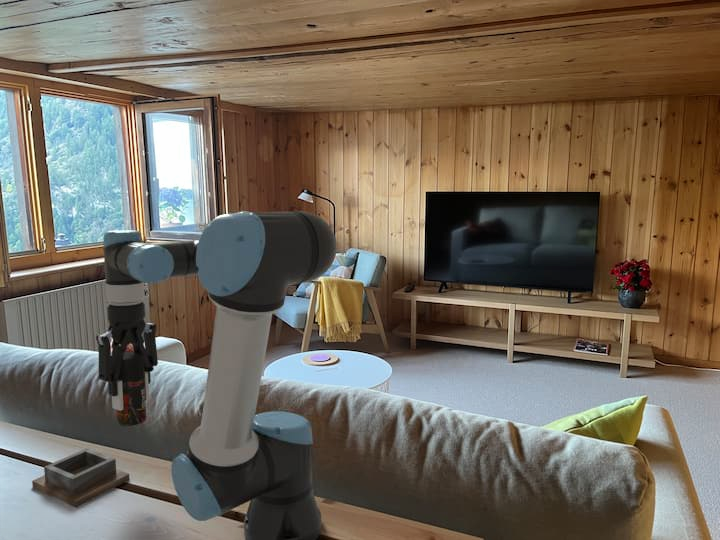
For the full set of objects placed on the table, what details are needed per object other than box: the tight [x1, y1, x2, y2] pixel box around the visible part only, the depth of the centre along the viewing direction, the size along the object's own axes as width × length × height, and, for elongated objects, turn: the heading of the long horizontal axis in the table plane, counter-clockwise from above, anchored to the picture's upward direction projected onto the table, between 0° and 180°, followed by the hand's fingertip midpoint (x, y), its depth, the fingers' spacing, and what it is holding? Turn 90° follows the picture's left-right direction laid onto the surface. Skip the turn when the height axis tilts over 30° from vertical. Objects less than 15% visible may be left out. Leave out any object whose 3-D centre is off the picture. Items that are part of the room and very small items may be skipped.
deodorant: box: [116, 351, 147, 427], centre depth 121 cm, size 6×6×15 cm
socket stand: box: [31, 447, 131, 508], centre depth 124 cm, size 16×13×5 cm
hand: (131, 403), depth 122 cm, fingers closed on deodorant, 6 cm apart
